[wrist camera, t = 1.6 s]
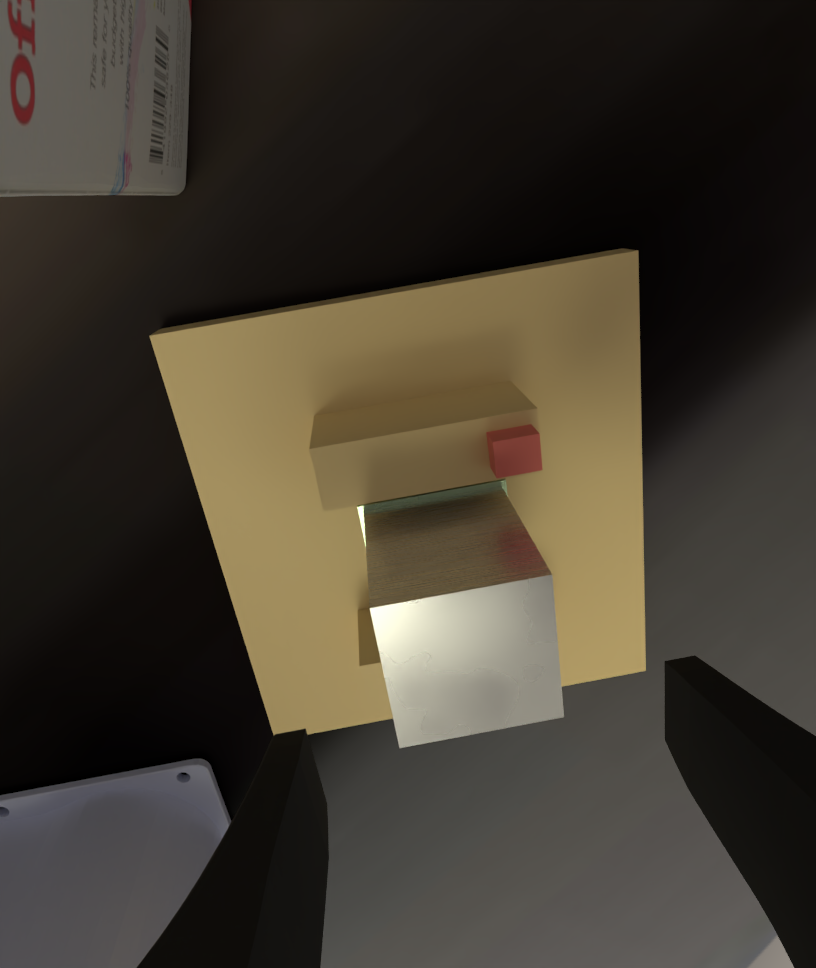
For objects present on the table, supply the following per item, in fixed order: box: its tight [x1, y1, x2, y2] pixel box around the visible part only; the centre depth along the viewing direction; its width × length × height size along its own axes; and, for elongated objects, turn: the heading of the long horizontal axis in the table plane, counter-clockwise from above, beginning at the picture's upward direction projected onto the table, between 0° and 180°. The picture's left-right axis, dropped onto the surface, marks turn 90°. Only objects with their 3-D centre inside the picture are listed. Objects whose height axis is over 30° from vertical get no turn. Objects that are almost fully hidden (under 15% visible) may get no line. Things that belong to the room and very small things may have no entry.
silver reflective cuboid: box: [357, 479, 564, 748], centre depth 18 cm, size 4×4×7 cm
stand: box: [150, 248, 646, 735], centre depth 20 cm, size 14×15×5 cm
